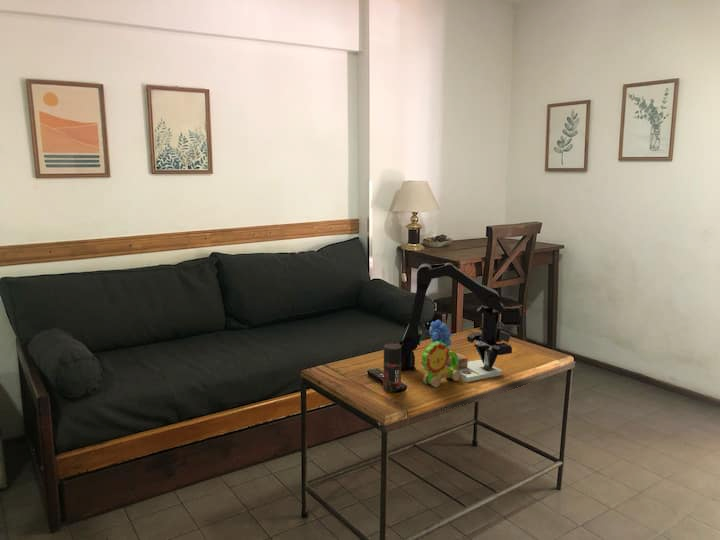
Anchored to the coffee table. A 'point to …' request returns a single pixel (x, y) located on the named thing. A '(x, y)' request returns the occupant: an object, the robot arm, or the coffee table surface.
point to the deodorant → (392, 367)
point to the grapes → (440, 333)
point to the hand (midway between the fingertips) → (487, 365)
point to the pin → (486, 361)
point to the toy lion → (439, 364)
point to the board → (477, 371)
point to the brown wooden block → (459, 361)
